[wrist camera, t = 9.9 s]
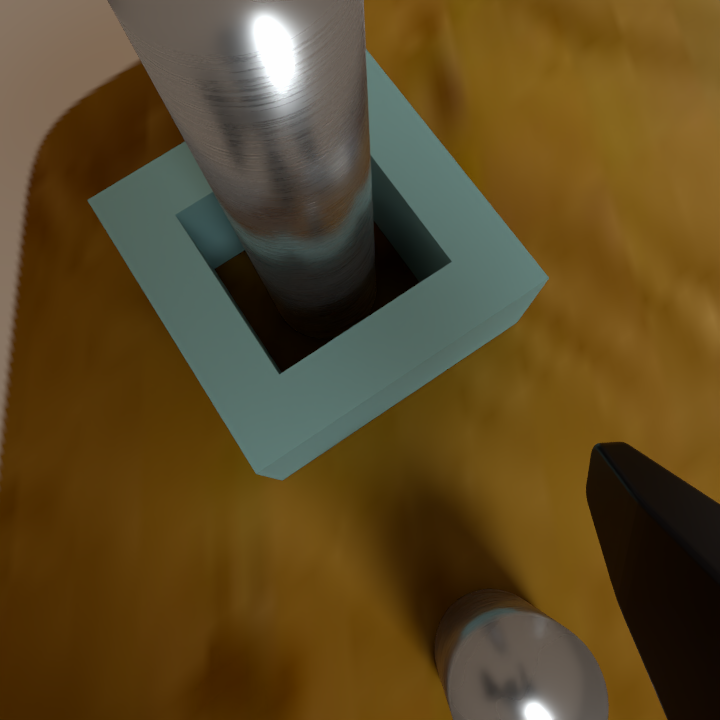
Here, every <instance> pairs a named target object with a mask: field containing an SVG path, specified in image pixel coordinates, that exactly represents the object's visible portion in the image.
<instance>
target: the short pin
mask: <svg viewBox="0 0 720 720" xmlns="http://www.w3.org/2000/svg"><path fill="white" fill-rule="evenodd" d="M434 655H435V662H436V666H437V670H438V673H439V676H440V679H441V683H442V686H443V689H444V692H445V695H446V698H447V701H448V704H449V708H450V711H451V714H452V717H453V720H607V719H608V694H607V689H606V684H605V681H604V678H603V675H602V672H601V670H600V667H599V665H598V663H597V661H596V660H595V658H594V656H593V655H592V653H591V652H590V650H589V649H588V648H587V647H586V645H585V644H584V643H583V642H582V641H581V640H580V639H579V638H578V637H577V636H576V635H575V634H573V633H572V632H571V631H569V630H568V629H567V628H565V627H564V626H562V625H561V624H559V623H558V622H556V621H555V620H553V619H552V618H550V617H549V616H547V615H546V614H544V613H543V612H542V611H540V610H539V609H537V608H536V607H534V606H533V605H531V604H530V603H528V602H527V601H525V600H524V599H522V598H520V597H519V596H517V595H515V594H512V593H510V592H507V591H503V590H498V589H483V590H478V591H474V592H471V593H469V594H466V595H464V596H463V597H461V598H460V599H458V600H457V601H456V602H455V603H453V604H452V605H451V606H450V608H449V609H448V610H447V611H446V613H445V614H444V616H443V617H442V619H441V621H440V623H439V626H438V629H437V632H436V636H435V644H434Z"/></svg>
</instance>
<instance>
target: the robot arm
mask: <svg viewBox="0 0 720 720" xmlns="http://www.w3.org/2000/svg"><path fill="white" fill-rule="evenodd" d="M586 496H587V502H588V506H589V509H590V512H591V516H592V519H593V522H594V526H595V529H596V532H597V536H598V539H599V543H600V546H601V549H602V553H603V556H604V559H605V563H606V566H607V569H608V573H609V576H610V579H611V583H612V586H613V589H614V592H615V595H616V598H617V601H618V604H619V606H620V609H621V611H622V614H623V616H624V619H625V621H626V623H627V626H628V628H629V630H630V633H631V635H632V637H633V640H634V642H635V644H636V647H637V649H638V651H639V654H640V656H641V658H642V661H643V663H644V665H645V668H646V670H647V673H648V675H649V677H650V680H651V682H652V684H653V687H654V689H655V691H656V694H657V696H658V698H659V701H660V703H661V705H662V708H663V710H664V712H665V715H666V717H667V719H668V720H720V504H719V503H717V502H716V501H714V500H712V499H711V498H709V497H708V496H706V495H705V494H703V493H702V492H700V491H699V490H697V489H696V488H694V487H693V486H691V485H690V484H688V483H687V482H685V481H683V480H682V479H680V478H679V477H677V476H676V475H674V474H673V473H671V472H670V471H668V470H667V469H665V468H664V467H662V466H661V465H659V464H657V463H656V462H654V461H653V460H651V459H650V458H648V457H647V456H645V455H644V454H642V453H641V452H639V451H638V450H636V449H635V448H633V447H632V446H630V445H628V444H626V443H624V442H609V443H598V444H596V445H595V446H594V447H593V449H592V452H591V458H590V465H589V471H588V478H587V484H586Z"/></svg>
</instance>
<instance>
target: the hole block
mask: <svg viewBox="0 0 720 720" xmlns="http://www.w3.org/2000/svg"><path fill="white" fill-rule="evenodd" d="M366 67H367V89H368V112H369V134H370V156H371V179H372V201H373V220H374V222H375V223H376V224H377V226H378V227H379V228H380V230H381V231H382V232H383V234H384V235H385V236H386V238H387V239H388V240H389V242H390V243H391V245H392V246H393V247H394V249H395V250H396V251H397V253H398V254H399V255H400V257H401V258H402V259H403V261H404V262H405V263H406V265H407V266H408V267H409V269H410V270H411V272H412V273H413V274H414V276H415V277H416V278H417V280H418V281H419V282H420V283H419V284H417V285H416V286H414V287H412V288H411V289H409V290H408V291H406V292H405V293H403V294H402V295H400V296H399V297H397V298H396V299H394V300H393V301H391V302H390V303H388V304H386V305H385V306H383V307H382V308H380V309H379V310H377V311H376V312H374V313H373V314H371V315H370V316H368V317H367V318H365V319H363V320H362V321H360V322H359V323H357V324H356V325H354V326H353V327H351V328H350V329H348V330H347V331H345V332H344V333H342V334H341V335H339V336H337V337H336V338H334V339H333V340H331V341H330V342H328V343H327V344H325V345H324V346H322V347H321V348H319V349H318V350H316V351H315V352H313V353H311V354H310V355H308V356H307V357H305V358H304V359H302V360H301V361H299V362H298V363H296V364H295V365H293V366H292V367H290V368H289V369H287V370H285V371H284V372H281V371H280V369H279V368H278V366H277V364H276V363H275V361H274V360H273V358H272V357H271V355H270V354H269V352H268V351H267V349H266V348H265V346H264V345H263V343H262V342H261V340H260V338H259V337H258V335H257V334H256V332H255V331H254V329H253V328H252V326H251V325H250V323H249V322H248V320H247V319H246V317H245V316H244V314H243V312H242V311H241V309H240V308H239V306H238V305H237V303H236V302H235V300H234V299H233V297H232V296H231V294H230V293H229V291H228V290H227V288H226V287H225V285H224V283H223V282H222V280H221V279H220V277H219V276H218V274H217V273H216V271H215V270H214V269H215V268H217V267H219V266H220V265H222V264H223V263H225V262H226V261H228V260H230V259H231V258H233V257H234V256H236V255H238V254H239V253H241V252H242V251H244V250H245V249H244V247H243V245H242V244H241V242H240V240H239V238H238V236H237V235H236V233H235V231H234V229H233V227H232V225H231V224H230V222H229V220H228V218H227V216H226V215H225V213H224V211H223V209H222V207H221V205H220V204H219V202H218V200H217V198H216V196H215V195H214V193H213V191H212V189H211V187H210V186H209V184H208V182H207V180H206V178H205V176H204V175H203V173H202V171H201V169H200V167H199V166H198V164H197V162H196V160H195V158H194V156H193V155H192V153H191V151H190V149H189V147H188V146H187V144H186V142H183V143H181V144H180V145H178V146H176V147H175V148H173V149H171V150H170V151H168V152H166V153H165V154H163V155H161V156H160V157H158V158H156V159H155V160H153V161H151V162H150V163H148V164H146V165H145V166H143V167H141V168H140V169H138V170H136V171H135V172H133V173H131V174H130V175H128V176H126V177H125V178H123V179H121V180H120V181H118V182H116V183H115V184H113V185H111V186H110V187H108V188H106V189H105V190H103V191H101V192H100V193H98V194H96V195H95V196H93V197H91V198H90V199H88V200H87V201H88V202H89V204H90V205H91V207H92V209H93V210H94V212H95V213H96V215H97V217H98V218H99V220H100V222H101V223H102V225H103V226H104V228H105V230H106V231H107V233H108V235H109V236H110V238H111V239H112V241H113V243H114V244H115V246H116V247H117V249H118V251H119V252H120V254H121V256H122V257H123V259H124V260H125V262H126V264H127V265H128V267H129V269H130V270H131V272H132V273H133V275H134V277H135V278H136V280H137V282H138V283H139V285H140V286H141V288H142V290H143V291H144V293H145V294H146V296H147V298H148V299H149V301H150V303H151V304H152V306H153V307H154V309H155V311H156V312H157V314H158V316H159V317H160V319H161V320H162V322H163V324H164V325H165V327H166V329H167V330H168V332H169V333H170V335H171V337H172V338H173V340H174V341H175V343H176V345H177V346H178V348H179V350H180V351H181V353H182V354H183V356H184V358H185V359H186V361H187V363H188V364H189V366H190V367H191V369H192V371H193V372H194V374H195V376H196V377H197V379H198V380H199V382H200V384H201V385H202V387H203V388H204V390H205V392H206V393H207V395H208V397H209V398H210V400H211V401H212V403H213V405H214V406H215V408H216V410H217V411H218V413H219V414H220V416H221V418H222V419H223V421H224V422H225V424H226V426H227V427H228V429H229V431H230V432H231V434H232V435H233V437H234V439H235V440H236V442H237V444H238V445H239V447H240V448H241V450H242V452H243V453H244V455H245V457H246V458H247V460H248V461H249V463H250V465H251V466H252V468H253V469H254V471H255V473H256V474H259V475H263V476H267V477H271V478H275V479H279V480H284V479H285V478H287V477H288V476H290V475H291V474H293V473H294V472H296V471H297V470H299V469H300V468H302V467H303V466H305V465H306V464H308V463H309V462H310V461H312V460H313V459H315V458H316V457H318V456H319V455H321V454H322V453H324V452H325V451H327V450H328V449H330V448H331V447H333V446H334V445H336V444H337V443H339V442H340V441H342V440H343V439H345V438H346V437H348V436H349V435H351V434H352V433H354V432H355V431H357V430H358V429H359V428H361V427H362V426H364V425H365V424H367V423H368V422H370V421H371V420H373V419H374V418H376V417H377V416H379V415H380V414H382V413H383V412H385V411H386V410H388V409H389V408H391V407H392V406H394V405H395V404H397V403H398V402H400V401H401V400H403V399H404V398H406V397H407V396H408V395H410V394H411V393H413V392H414V391H416V390H417V389H419V388H420V387H422V386H423V385H425V384H426V383H428V382H429V381H431V380H432V379H434V378H435V377H437V376H438V375H440V374H441V373H443V372H444V371H446V370H447V369H449V368H450V367H452V366H453V365H455V364H456V363H458V362H459V361H460V360H462V359H463V358H465V357H466V356H468V355H469V354H471V353H472V352H474V351H475V350H477V349H478V348H480V347H481V346H483V345H484V344H486V343H487V342H489V341H490V340H492V339H493V338H495V337H496V336H498V335H499V334H501V333H502V332H504V331H505V330H507V329H508V328H509V327H511V326H512V325H514V324H515V323H517V322H518V320H519V319H520V318H521V316H522V315H523V313H524V312H525V311H526V309H527V308H528V307H529V305H530V304H531V302H532V301H533V300H534V298H535V297H536V295H537V294H538V293H539V291H540V290H541V289H542V287H543V286H544V284H545V283H546V282H547V280H548V279H549V277H548V276H547V275H546V274H545V272H544V271H543V270H542V269H541V267H540V266H539V265H538V264H537V262H536V261H535V260H534V259H533V257H532V256H531V255H530V254H529V252H528V251H527V250H526V249H525V247H524V246H523V245H522V244H521V242H520V241H519V240H518V239H517V237H516V236H515V235H514V234H513V232H512V231H511V230H510V229H509V227H508V226H507V225H506V224H505V222H504V221H503V220H502V219H501V217H500V216H499V215H498V214H497V212H496V211H495V210H494V209H493V207H492V206H491V205H490V204H489V202H488V201H487V200H486V199H485V197H484V196H483V195H482V194H481V192H480V191H479V190H478V189H477V187H476V186H475V185H474V184H473V182H472V181H471V180H470V179H469V177H468V176H467V175H466V174H465V172H464V171H463V170H462V169H461V167H460V166H459V165H458V164H457V162H456V161H455V160H454V159H453V157H452V156H451V155H450V154H449V152H448V151H447V150H446V149H445V147H444V146H443V145H442V144H441V142H440V141H439V140H438V139H437V137H436V136H435V135H434V134H433V132H432V131H431V130H430V128H429V127H428V126H427V125H426V123H425V122H424V121H423V120H422V118H421V117H420V116H419V115H418V113H417V112H416V111H415V110H414V108H413V107H412V106H411V105H410V103H409V102H408V101H407V100H406V98H405V97H404V96H403V95H402V93H401V92H400V91H399V90H398V88H397V87H396V86H395V85H394V83H393V82H392V81H391V80H390V78H389V77H388V76H387V75H386V73H385V72H384V71H383V70H382V68H381V67H380V66H379V65H378V63H377V62H376V61H375V60H374V58H373V57H372V56H371V55H370V53H369V52H368V51H367V50H366Z"/></svg>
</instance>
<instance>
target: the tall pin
mask: <svg viewBox="0 0 720 720" xmlns="http://www.w3.org/2000/svg"><path fill="white" fill-rule="evenodd" d="M108 2H109V4H110V6H111V8H112V9H113V11H114V12H115V15H116V16H117V18H118V20H119V22H120V24H121V26H122V27H123V29H124V31H125V33H126V35H127V37H128V38H129V40H130V42H131V44H132V46H133V47H134V49H135V51H136V53H137V55H138V57H139V58H140V60H141V62H142V64H143V66H144V67H145V69H146V71H147V73H148V75H149V77H150V78H151V80H152V82H153V84H154V86H155V87H156V89H157V91H158V93H159V95H160V97H161V98H162V100H163V102H164V104H165V106H166V107H167V109H168V111H169V113H170V115H171V116H172V118H173V120H174V122H175V124H176V126H177V127H178V129H179V131H180V133H181V135H182V136H183V138H184V140H185V142H186V144H187V146H188V147H189V149H190V151H191V153H192V155H193V156H194V158H195V160H196V162H197V164H198V166H199V167H200V169H201V171H202V173H203V175H204V176H205V178H206V180H207V182H208V184H209V186H210V187H211V189H212V191H213V193H214V195H215V196H216V198H217V200H218V202H219V204H220V205H221V207H222V209H223V211H224V213H225V215H226V216H227V218H228V220H229V222H230V224H231V225H232V227H233V229H234V231H235V233H236V235H237V236H238V238H239V240H240V242H241V244H242V245H243V247H244V249H245V251H246V253H247V255H248V256H249V258H250V260H251V262H252V264H253V265H254V267H255V269H256V271H257V273H258V274H259V276H260V278H261V280H262V282H263V284H264V285H265V287H266V289H267V291H268V293H269V294H270V296H271V298H272V300H273V302H274V304H275V305H276V307H277V309H278V311H279V313H280V314H281V316H282V317H283V319H284V320H285V321H286V322H287V323H288V324H289V325H290V326H291V327H292V328H293V329H295V330H296V331H298V332H300V333H302V334H304V335H307V336H310V337H315V338H333V337H337V336H339V335H341V334H342V333H344V332H345V331H347V330H348V329H350V328H351V327H353V326H354V325H356V324H357V323H359V322H360V321H362V320H363V319H365V318H366V317H367V316H368V314H369V313H370V311H371V309H372V307H373V304H374V301H375V297H376V268H375V246H374V224H373V201H372V179H371V156H370V134H369V112H368V89H367V67H366V44H365V22H364V0H108Z"/></svg>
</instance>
